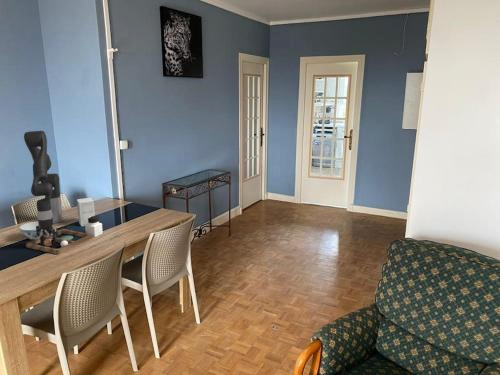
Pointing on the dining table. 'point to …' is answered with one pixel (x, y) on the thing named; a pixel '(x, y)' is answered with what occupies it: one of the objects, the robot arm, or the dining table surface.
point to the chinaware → (29, 230)
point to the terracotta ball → (47, 242)
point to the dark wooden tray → (57, 251)
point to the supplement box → (85, 210)
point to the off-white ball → (63, 243)
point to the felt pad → (67, 237)
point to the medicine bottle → (94, 226)
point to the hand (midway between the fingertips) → (48, 244)
